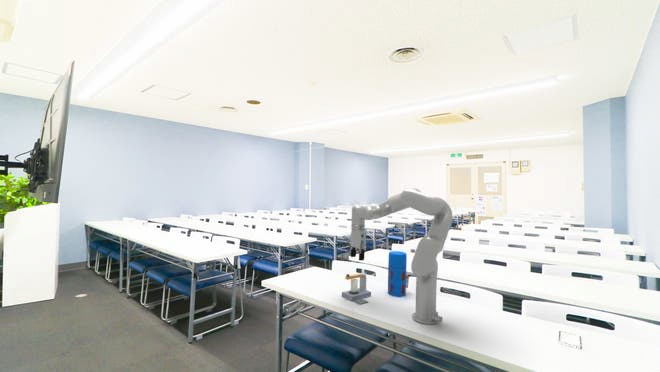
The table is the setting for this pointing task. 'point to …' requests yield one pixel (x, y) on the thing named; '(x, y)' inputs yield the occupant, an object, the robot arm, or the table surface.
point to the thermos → (397, 273)
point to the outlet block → (361, 291)
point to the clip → (354, 276)
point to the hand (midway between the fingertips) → (357, 258)
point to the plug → (354, 286)
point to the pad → (360, 301)
